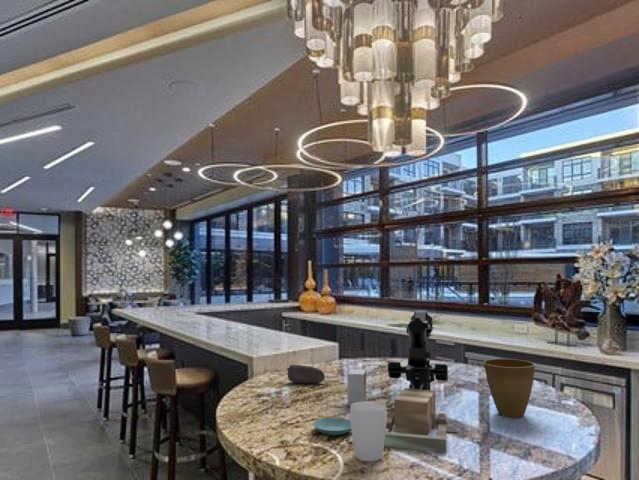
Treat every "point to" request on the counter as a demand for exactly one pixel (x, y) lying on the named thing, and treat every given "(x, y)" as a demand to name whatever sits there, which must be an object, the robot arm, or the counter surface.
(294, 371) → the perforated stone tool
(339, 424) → the saucer
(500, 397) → the plant pot
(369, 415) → the cup
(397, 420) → the walnut block
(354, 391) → the small box
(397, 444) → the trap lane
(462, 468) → the counter surface
